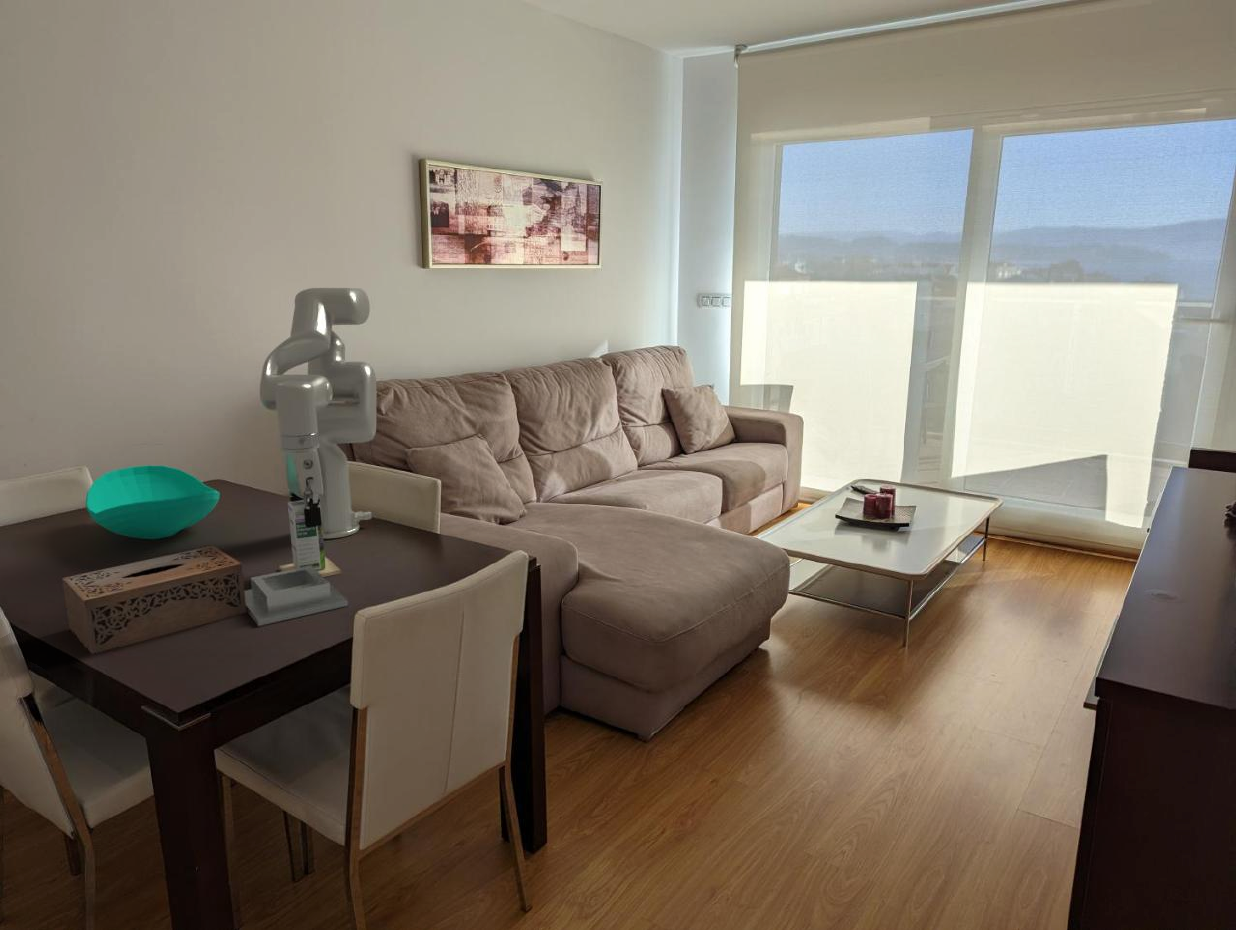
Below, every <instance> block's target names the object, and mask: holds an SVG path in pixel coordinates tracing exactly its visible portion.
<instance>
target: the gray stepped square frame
mask: <svg viewBox="0 0 1236 930" xmlns="http://www.w3.org/2000/svg"><path fill="white" fill-rule="evenodd" d="M250 584H251V589H247V590H244V592H245V602H246V613H248V614H249V616H250V617H251V618H252V620H253V621H254V622H255V624H256V625H257V626H258V627H262V626H266V625H271V624H274V623H278V622H283V621H287V620H292V619H298V618H300V617H304V616H309V615H313V614H319V613H322V612H326V611H327V612H328V611H331V610H335V609H340V608H344V607H347V606H348V605H349V603H348V599H347V598H346V597H345V596H344V595H342V594H341V592H339V591H338V590H337V589H336V588H335V587H334V586H333V585H332V584H331V583H330V581H328V580H327V579H326V578H325V577H323V576H322V575H321V574H320V573H318V572H317V571H316V570H315V569H314V568H313V567H312V566H307V567H302V568H297V569H292V570H287V571H282V572H281V571H278V572H272V573H268V574H262V575H257V576H253V577H250Z"/></svg>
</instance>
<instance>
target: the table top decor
mask: <svg viewBox="0 0 1236 930" xmlns="http://www.w3.org/2000/svg"><path fill="white" fill-rule="evenodd" d="M220 495H221V494H220V492H219V491H218V490H216V489H214V488H212V487H210V486H208V485H206V484H205V483H203V482H202V481H201V480H199V479H198V478H197V477H196V476H194V475H192V474H190V473H188V472H186V471H183V470H181V469H180V468H179V469H178V468H175V467H172V466H166V465H149V464H148V465H139V466H137V465H136V466H131V467H125V468H118V469H115V470H112V471H109V472H106V473H104V474H103V475H101V476H100V477H99V478H96V480H94V481H93V482H92V484H91V486H90V487H89V489H88V491H87V493H86V500H85V507H86V509H87V512H88V513H89V515H90V518H91V519H93V521H95V522H96V523H97V524H98V525H99V526H101V527H103V528H105V529H107V530H108V531H110V532H112V533H114V534H116V535H121V536H124V537H129V538H137V539H144V540H145V539H147V540H156V539H163V538H167V537H168V538H169V537H172V536H174V535H176V534H178V533H179V532H180V531H181V530H184V529H186V528H189V527H191V526H193V525H194V524H196V523H198V522H199V521H201V520H203V519H204V518H206V517H207V515H209V514H210V513H211V512H212V511H213V510H214V509H215V507H216V506H217V504H218V503H219V500H220Z"/></svg>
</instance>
